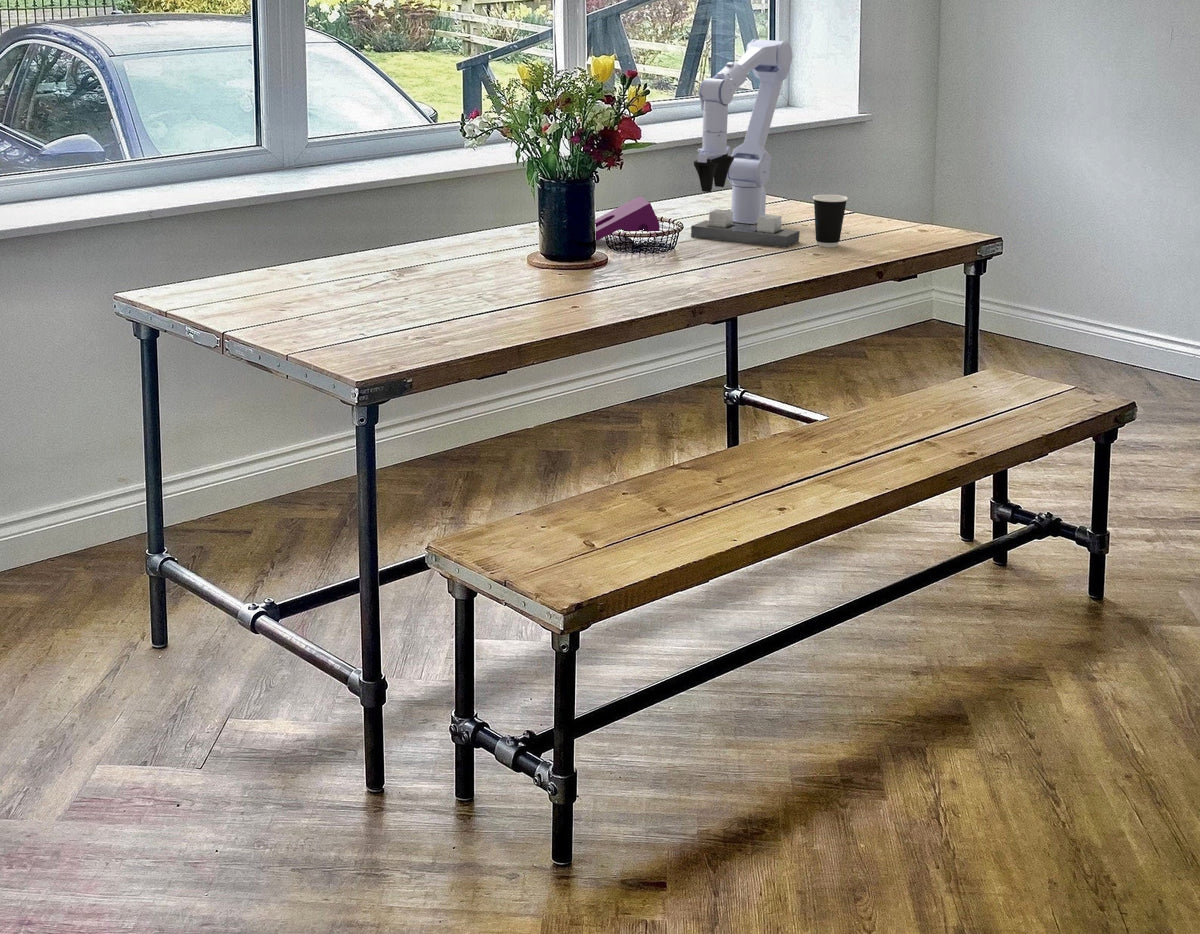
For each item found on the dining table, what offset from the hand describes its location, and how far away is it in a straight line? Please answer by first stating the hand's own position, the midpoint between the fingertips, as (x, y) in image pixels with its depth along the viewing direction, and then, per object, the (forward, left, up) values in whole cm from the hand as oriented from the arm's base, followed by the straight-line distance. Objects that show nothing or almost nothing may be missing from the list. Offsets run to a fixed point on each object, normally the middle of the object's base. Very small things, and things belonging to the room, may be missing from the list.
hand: (713, 189), depth 342 cm
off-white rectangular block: (+5, +17, -10) cm, 20 cm away
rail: (+5, +11, -10) cm, 16 cm away
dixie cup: (+1, +30, -10) cm, 32 cm away
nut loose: (+5, +5, -10) cm, 12 cm away
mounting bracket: (+22, -14, -11) cm, 29 cm away
